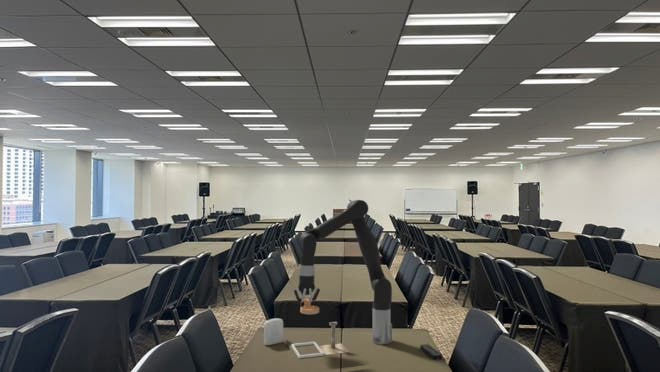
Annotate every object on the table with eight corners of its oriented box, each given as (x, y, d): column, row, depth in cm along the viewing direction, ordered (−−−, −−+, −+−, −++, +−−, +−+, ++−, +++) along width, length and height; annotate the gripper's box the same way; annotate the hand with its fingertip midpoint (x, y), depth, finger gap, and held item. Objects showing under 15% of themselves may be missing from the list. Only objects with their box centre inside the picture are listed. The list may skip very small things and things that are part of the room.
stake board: (341, 346, 206) (341, 318, 207) (350, 355, 195) (350, 325, 195) (318, 348, 203) (318, 320, 203) (325, 357, 191) (325, 328, 192)
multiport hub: (428, 348, 204) (428, 344, 204) (442, 360, 190) (442, 355, 190) (420, 349, 203) (420, 344, 203) (433, 360, 189) (433, 355, 189)
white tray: (314, 346, 206) (314, 341, 206) (324, 358, 190) (324, 353, 190) (291, 349, 202) (291, 344, 202) (298, 361, 187) (298, 356, 187)
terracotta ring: (313, 307, 205) (313, 298, 205) (320, 313, 193) (320, 305, 193) (297, 308, 202) (297, 299, 203) (303, 314, 190) (303, 306, 191)
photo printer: (280, 340, 215) (280, 316, 215) (284, 342, 211) (284, 318, 212) (262, 343, 209) (262, 319, 210) (265, 346, 206) (266, 321, 206)
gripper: (318, 272, 208) (317, 306, 208) (291, 273, 204) (290, 308, 204) (322, 274, 201) (322, 310, 201) (294, 275, 197) (293, 312, 196)
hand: (306, 309), depth 202 cm, fingers closed on terracotta ring, 3 cm apart
